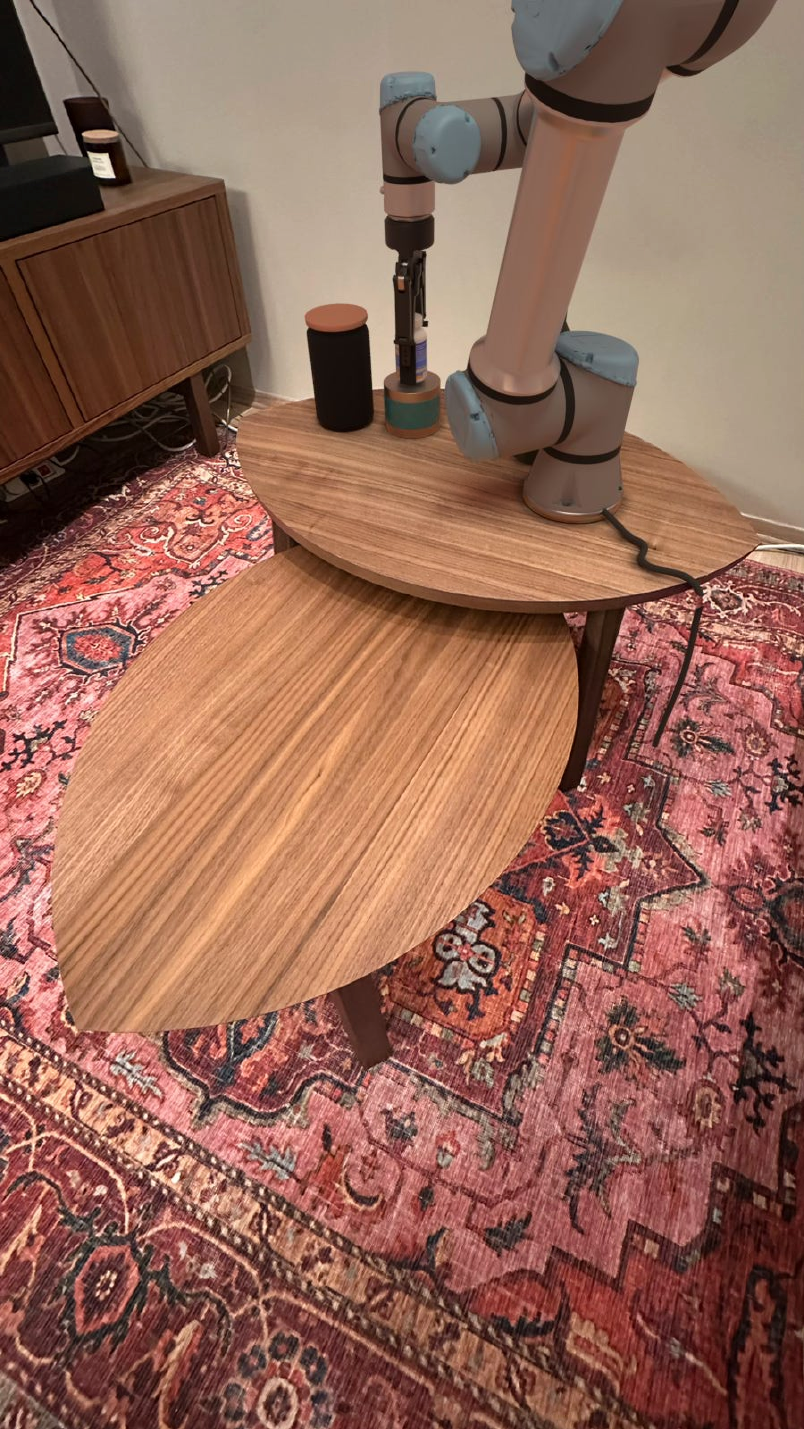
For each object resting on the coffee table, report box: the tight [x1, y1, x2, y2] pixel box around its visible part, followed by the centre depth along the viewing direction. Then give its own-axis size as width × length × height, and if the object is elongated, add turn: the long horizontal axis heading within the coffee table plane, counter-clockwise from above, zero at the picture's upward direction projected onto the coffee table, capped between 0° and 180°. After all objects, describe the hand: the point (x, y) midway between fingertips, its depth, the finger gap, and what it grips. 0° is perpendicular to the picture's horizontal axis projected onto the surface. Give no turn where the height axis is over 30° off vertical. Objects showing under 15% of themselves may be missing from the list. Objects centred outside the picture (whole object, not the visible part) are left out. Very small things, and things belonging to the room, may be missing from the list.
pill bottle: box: [394, 313, 428, 383], centre depth 116 cm, size 5×5×10 cm
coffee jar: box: [304, 302, 375, 433], centre depth 121 cm, size 11×11×18 cm
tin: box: [383, 370, 442, 440], centre depth 123 cm, size 10×10×8 cm
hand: (411, 375), depth 119 cm, fingers closed on pill bottle, 5 cm apart
